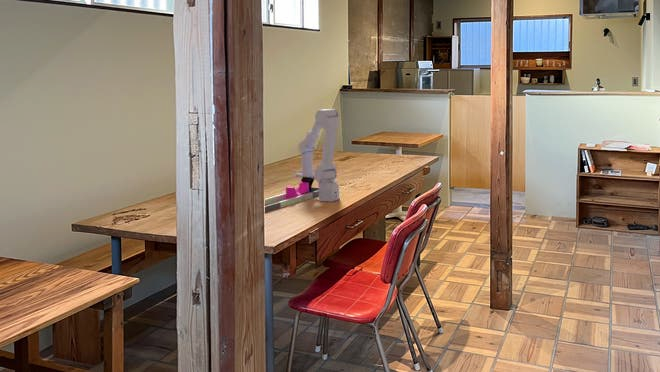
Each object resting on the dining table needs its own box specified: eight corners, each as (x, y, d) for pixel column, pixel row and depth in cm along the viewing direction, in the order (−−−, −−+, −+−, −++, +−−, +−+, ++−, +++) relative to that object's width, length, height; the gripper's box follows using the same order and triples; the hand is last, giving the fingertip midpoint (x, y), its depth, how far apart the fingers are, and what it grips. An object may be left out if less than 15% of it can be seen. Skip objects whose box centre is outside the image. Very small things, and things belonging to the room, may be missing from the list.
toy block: (298, 196, 350) (297, 181, 349) (309, 197, 347) (308, 182, 346) (282, 202, 337) (281, 187, 336) (293, 203, 334) (292, 187, 333)
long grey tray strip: (328, 193, 355) (327, 188, 355) (264, 212, 314) (264, 207, 314) (308, 191, 362) (308, 186, 362) (244, 209, 321) (244, 204, 321)
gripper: (323, 165, 348) (324, 191, 350) (300, 163, 356) (301, 189, 359) (315, 167, 342) (316, 194, 345) (291, 165, 350) (293, 192, 353)
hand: (308, 192), depth 351 cm, fingers closed
